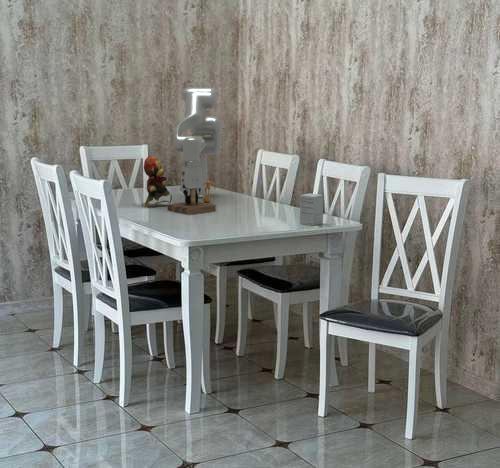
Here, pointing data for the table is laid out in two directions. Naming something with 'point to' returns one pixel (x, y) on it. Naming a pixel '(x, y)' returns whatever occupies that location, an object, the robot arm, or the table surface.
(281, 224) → the table surface
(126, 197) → the table surface
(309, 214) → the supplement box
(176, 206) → the socket block
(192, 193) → the peg
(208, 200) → the figurine
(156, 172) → the red green tall figure
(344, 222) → the table surface
